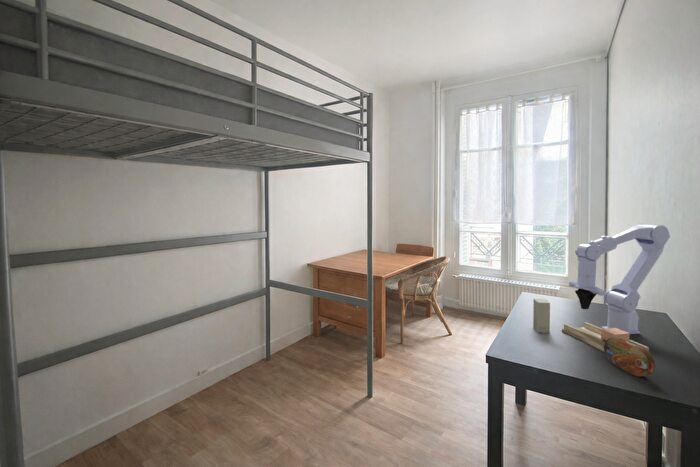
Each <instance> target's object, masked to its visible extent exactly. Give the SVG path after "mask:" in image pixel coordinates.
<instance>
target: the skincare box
mask: <svg viewBox="0 0 700 467" xmlns="http://www.w3.org/2000/svg"><path fill="white" fill-rule="evenodd" d="M532 316H533V319H532V326H533V329H534V330H535V331H536V332H537V333H544V334H549V333H550V332H551V330H550V327H551V326H550V324H551V323H550V322H551V321H550V318H551V302H550V301H548V300H547V299H545V298H533V315H532Z"/></svg>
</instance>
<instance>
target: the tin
mask: <svg viewBox="0 0 700 467" xmlns="http://www.w3.org/2000/svg"><path fill="white" fill-rule="evenodd" d="M603 352H604V355H605V356H606V359H607V360H608V361H609V362H610V363H611V364H612V365H614V366H616V367H618V368H620V369H621V370H624V371H626V372H627V373H629V374H631V375H633V376H635V377H648V376H651V375H652V374H653V373H654V372H655V368H656V362H655V359H654V357H653V355H652V354H650V353H651V352H650V351H649V352H648V351H647V350H646V349H644V348H642V347H639V346H637V345H635V344H632V343H630V342H628V341H626V340H623V339H620V338H609V339H607V340H606V342H605V344H604V351H603Z"/></svg>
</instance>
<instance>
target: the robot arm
mask: <svg viewBox="0 0 700 467" xmlns="http://www.w3.org/2000/svg"><path fill="white" fill-rule="evenodd" d="M670 238H671V234H670V232H669V229H668V227H667V226H665V225H663V224H659V225H658V224H657V225H656V224H644V223H639V224H635V225H631V227H630V228H628V229H626V230H624V231H622V232H620V233H617V234H615V235H614V236H610V235H601V236H600V238H598V239H595V240H590V241H589V242H588V243H581V244H579V245H578V246H577V248H576V249H575V251H574V254H575V255H576V257H577V261H578V262H577V282H576V281H568V287H569V288H570V287H571V288H575V289H576V290H575V291H574V292H575V295H576V296H577V298H578V301H579V304H580V308H581V309H582V310H589V308H590V306H591V304H592V301H593V300H594V299H595V297H596V296H597V295H598V296H600V297H602V296H603V300H604V302H605V303H606V304H607V305H606V306H607V308H608V309H607V310H608V311H607V322H606V323H607V325H606V326H605V325H604V326H601V327H600V328H602V329H609V328H617V329H620V330H623V331H625V332H628V333H630V335H637V334H640V331H638V330H639V314H638V312H637V311H636V309H637V308H638V304H639V301H640V299H641V296H640V293H639V291H638V290H639V289H640V287H641V285H642V283H643V282H644V281H645V279H646V278H647V276H648V275H649V273H650V272H651V270H652V269H653V268H654V266H655V264H656V263H657V261H658V260H659V258H660V257H661V255H663V254H662V253H663V252H664V248H665V245H666V244H667V242H668V241H669V239H670ZM633 240H635V241H636V242H637V244H638V245H639V246H640V247H641V249H642V250H641V252H640V253H639V255H638V256H637V257H636V259H635V261H634V262H633V263H632V265H631V266H630V268H629V270H628V272H626V274H625V276H624V277H623V279H622V281H621V282H620V283H617V284H615V285H613V286H612V287H611V288H609V290H607V291H606V290H605V289H602V288H600V287H597V286H596V278H597V275H596V274H597V263H598V262H597V260H599V258H601V256H602V255H604V254H606V253H609V252H611V251H613V250H615V249H617V246H618V245H621V244H624V243H626V242H630V241H633Z"/></svg>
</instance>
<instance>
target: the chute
mask: <svg viewBox="0 0 700 467" xmlns="http://www.w3.org/2000/svg"><path fill="white" fill-rule="evenodd" d="M601 329H603V328H601V327H600V326H597V325H595V324H593V323H589V322H587V321H585V322H583V326H582V327H575V326H573V325H570V324H568V323H563V328H562V329H561V332H562V333H563V334H566V335H568V336H571V337H573V338H575V339H577V340H579V341H580V342H584V343H585V344H588V345H590V346H592V347H593V348H596V349H598V350H600V351H602V352H604V344H605V342H606V340H603V339H601ZM629 342H630V343H632V344H635V345H637V346H639V347H642V348H644V349H646V350H647V351H648V352H650V346H646V345H644V344H642V343H639V342H636V341H635V340H633V339H630V338H629ZM650 354H651V352H650ZM651 355H652V354H651Z"/></svg>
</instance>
